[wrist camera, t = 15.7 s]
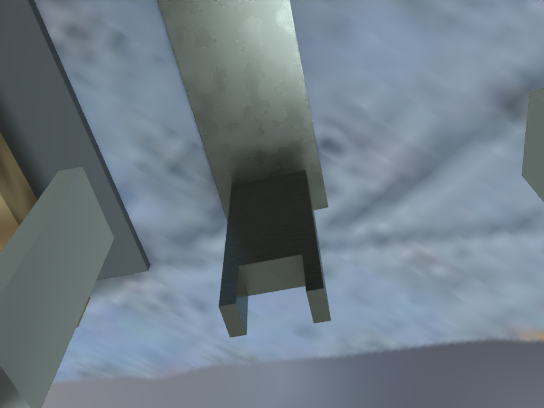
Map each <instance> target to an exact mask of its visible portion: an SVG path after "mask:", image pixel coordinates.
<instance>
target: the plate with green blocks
mask: <svg viewBox="0 0 544 408" xmlns="http://www.w3.org/2000/svg"><path fill="white" fill-rule="evenodd" d="M0 132H1V134H2V136H3V138H4V140H5V142H6V143H7V145H8V147H9V149H10V151H11V153H12V154H13V156H14V158H15V160H16V162H17V164H18V166H19V167H20V169H21V171H22V173H23V175H24V177H25V178H26V180H27V182H28V184H29V186H30V188H31V189H32V191H33V193H34V195H35V197H36V199H37V201H38V199H39V198H40V196H41V195H42V194H43V192H44V191H45V189H46V188H47V187H48V185H49V184H50V182H51V181H52V180H53V178H54V177H55V175H56V174H57V173H58V171H60V170H66V169H72V168H78V167H83V169H84V171H85V173H86V176H87V178H88V180H89V182H90V185H91V187H92V189H93V191H94V194H95V196H96V198H97V201H98V203H99V205H100V207H101V210H102V212H103V214H104V216H105V219H106V221H107V223H108V225H109V228H110V230H111V232H112V234H113V237H114V240H113V242H112V245H111V247H110V249H109V252H108V254H107V256H106V259H105V261H104V263H103V266H102V268H101V270H100V273H99V275H98V277H97V280H101V279H107V278H112V277H118V276H123V275H128V274H134V273H139V272H145V271H148V270H149V267H150V264H149V261H148V259H147V257H146V255H145V252H144V250H143V248H142V246H141V243H140V241H139V239H138V236H137V234H136V232H135V230H134V227H133V225H132V223H131V220H130V218H129V216H128V214H127V211H126V209H125V207H124V205H123V202H122V200H121V198H120V195H119V193H118V191H117V189H116V186H115V184H114V182H113V179H112V177H111V175H110V173H109V170H108V168H107V166H106V164H105V161H104V159H103V157H102V154H101V152H100V150H99V148H98V145H97V143H96V141H95V138H94V136H93V134H92V132H91V129H90V127H89V125H88V123H87V120H86V118H85V116H84V113H83V111H82V109H81V107H80V104H79V102H78V100H77V97H76V95H75V93H74V91H73V88H72V86H71V84H70V82H69V79H68V77H67V75H66V72H65V70H64V68H63V66H62V63H61V61H60V59H59V56H58V54H57V52H56V50H55V47H54V45H53V43H52V41H51V38H50V36H49V34H48V31H47V29H46V27H45V25H44V22H43V20H42V18H41V15H40V13H39V11H38V9H37V6H36V4H35V2H34V0H0Z"/></svg>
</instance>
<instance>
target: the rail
mask: <svg viewBox="0 0 544 408" xmlns="http://www.w3.org/2000/svg"><path fill="white" fill-rule="evenodd" d="M36 202H37V199H36V197H35V195H34V193H33V191H32V189H31V188H30V186H29V184H28V182H27V180H26V178H25V177H24V175H23V173H22V171H21V169H20V167H19V166H18V164H17V162H16V160H15V158H14V156H13V154H12V153H11V151H10V149H9V147H8V145H7V143H6V142H5V140H4V138H3V136H2V134H1V132H0V253H1V251H2V250H3V248H4V247H5V246H6V244H7V243H8V241H9V240H10V239H11V237H12V236H13V234H14V233H15V231H16V230H17V229H18V227H19V226H20V224H21V223H22V222H23V220H24V219H25V217H26V216H27V215H28V213H29V212H30V210H31V209H32V208H33V206H34V205H35V203H36ZM89 300H90V296H89V298H88V301H87V303H86V305H85V308H84V310H83V312H82V314H81V317H80V319H79V321H78V324H77V326H76V327H78V326H79V323H80V321H81V319H82V316H83V314H84V311H85V309H86V307H87V304H88V302H89Z"/></svg>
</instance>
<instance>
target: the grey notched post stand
mask: <svg viewBox="0 0 544 408" xmlns="http://www.w3.org/2000/svg"><path fill="white" fill-rule="evenodd" d="M158 3H159V6H160V9H161V13H162V16H163V19H164V22H165V25H166V28H167V31H168V35H169V38H170V41H171V44H172V47H173V50H174V53H175V57H176V60H177V63H178V66H179V69H180V72H181V76H182V79H183V82H184V85H185V88H186V91H187V94H188V98H189V101H190V104H191V107H192V110H193V113H194V117H195V120H196V123H197V126H198V129H199V132H200V135H201V139H202V142H203V145H204V148H205V151H206V154H207V157H208V161H209V164H210V167H211V170H212V173H213V176H214V180H215V183H216V186H217V189H218V192H219V195H220V198H221V202H222V205H223V208H224V211H225V214H226V217H227V221H228V223H227V233H226V242H225V252H224V262H223V271H222V281H221V290H220V300H219V309H220V311H221V314H222V317H223V319H224V322H225V325H226V328H227V330H228V333H229V336H230V337H236V336H242V335H247V311H248V296H250V295H256V294H262V293H267V292H273V291H279V290H285V289H290V288H296V287H302V286H306V293H307V297H308V301H309V305H310V309H311V313H312V318H313V322H314V323H319V322H325V321H331V318H330V311H329V305H328V299H327V292H326V286H325V280H324V273H323V267H322V261H321V254H320V248H319V241H318V235H317V229H316V222H315V216H314V210H317V209H322V208H327V207H328V203H327V198H326V193H325V187H324V182H323V177H322V171H321V166H320V161H319V155H318V150H317V145H316V139H315V134H314V129H313V123H312V118H311V113H310V107H309V102H308V97H307V92H306V86H305V81H304V76H303V70H302V65H301V60H300V54H299V49H298V44H297V38H296V33H295V28H294V22H293V17H292V12H291V6H290V1H289V0H158Z"/></svg>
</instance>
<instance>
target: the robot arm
mask: <svg viewBox="0 0 544 408" xmlns="http://www.w3.org/2000/svg"><path fill="white" fill-rule="evenodd" d="M522 176H523V177H524V179H525V180H526V181H527V182H528V184H529V185H530V186H531V187H532V188H533V190H534V191H535V192H536V193H537V194H538V196H539V197H540V198H541V199H542V201H543V202H544V88H541V89H535V90H530V91H529V102H528V113H527V124H526V134H525V145H524V156H523V167H522ZM113 240H114V237H113V234H112V232H111V230H110V228H109V225H108V223H107V221H106V219H105V216H104V214H103V212H102V210H101V207H100V205H99V203H98V201H97V198H96V196H95V194H94V191H93V189H92V187H91V185H90V182H89V180H88V178H87V176H86V173H85V171H84V169H83V167H78V168H72V169H66V170H60V171H58V173H57V174H56V175H55V177H54V178H53V180H52V181H51V182H50V184H49V185H48V187H47V188H46V189H45V191H44V192H43V194H42V195H41V196H40V198H39V199H38V201H37V202H36V203H35V205H34V206H33V208H32V209H31V210H30V212H29V213H28V215H27V216H26V217H25V219H24V220H23V222H22V223H21V224H20V226H19V227H18V229H17V230H16V231H15V233H14V234H13V236H12V237H11V239H10V240H9V241H8V243H7V244H6V246H5V247H4V248H3V250H2V251H1V253H0V408H41V407H42V405H43V403H44V401H45V398H46V396H47V393H48V391H49V389H50V387H51V384H52V382H53V380H54V377H55V375H56V373H57V370H58V368H59V366H60V363H61V361H62V359H63V356H64V354H65V352H66V349H67V347H68V345H69V342H70V340H71V338H72V335H73V333H74V331H75V328H76V326H77V324H78V321H79V319H80V317H81V314H82V312H83V310H84V308H85V305H86V303H87V301H88V298H89V296H90V294H91V291H92V289H93V287H94V284H95V282H96V280H97V277H98V275H99V273H100V270H101V268H102V266H103V263H104V261H105V259H106V256H107V254H108V252H109V249H110V247H111V245H112V242H113Z"/></svg>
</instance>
